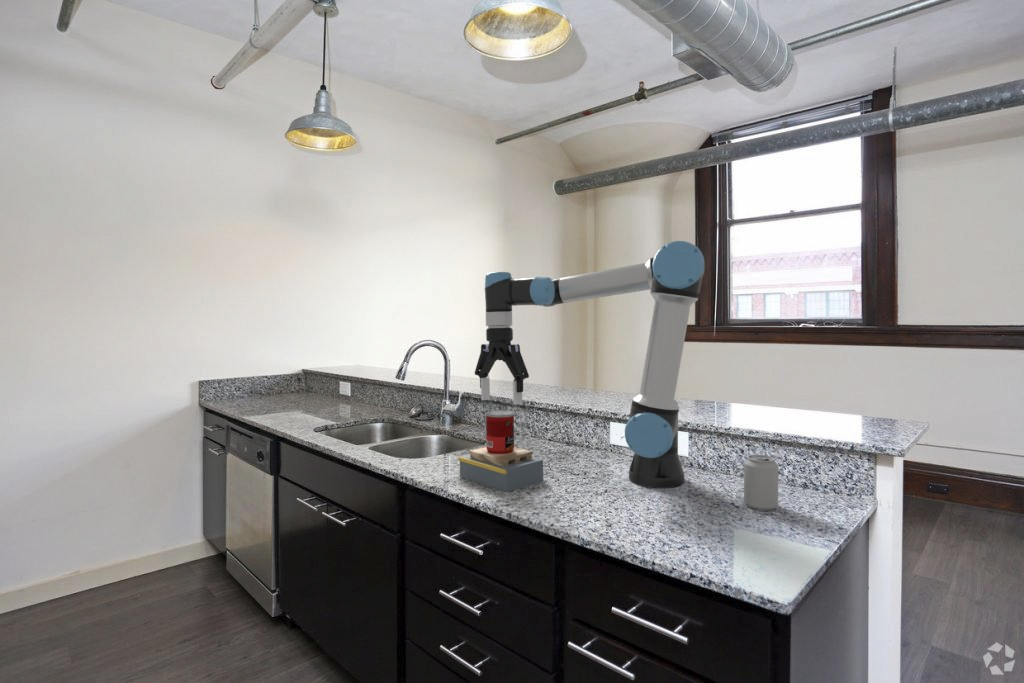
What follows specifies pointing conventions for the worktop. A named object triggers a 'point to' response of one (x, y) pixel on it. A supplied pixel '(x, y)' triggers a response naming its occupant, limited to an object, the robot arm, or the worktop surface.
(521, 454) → the pallet
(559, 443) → the worktop surface
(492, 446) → the canned food
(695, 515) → the worktop surface
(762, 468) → the can
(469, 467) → the dock
